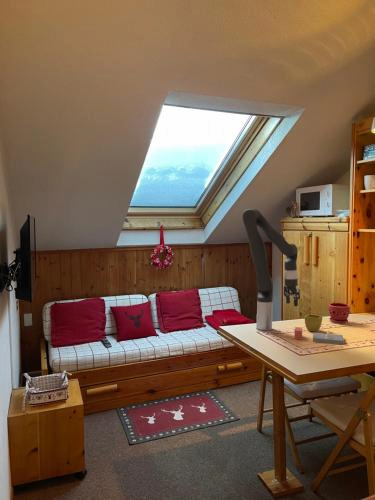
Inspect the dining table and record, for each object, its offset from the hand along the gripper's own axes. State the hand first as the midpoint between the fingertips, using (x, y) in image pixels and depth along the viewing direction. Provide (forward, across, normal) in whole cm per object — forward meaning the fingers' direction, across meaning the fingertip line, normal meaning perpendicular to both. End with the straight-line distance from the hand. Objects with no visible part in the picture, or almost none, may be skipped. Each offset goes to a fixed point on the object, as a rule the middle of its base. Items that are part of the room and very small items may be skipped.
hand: (292, 304), depth 237 cm
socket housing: (+17, +9, -2) cm, 20 cm away
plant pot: (+20, -15, +44) cm, 50 cm away
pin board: (+18, +18, +11) cm, 28 cm away
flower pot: (+18, -2, +15) cm, 24 cm away
